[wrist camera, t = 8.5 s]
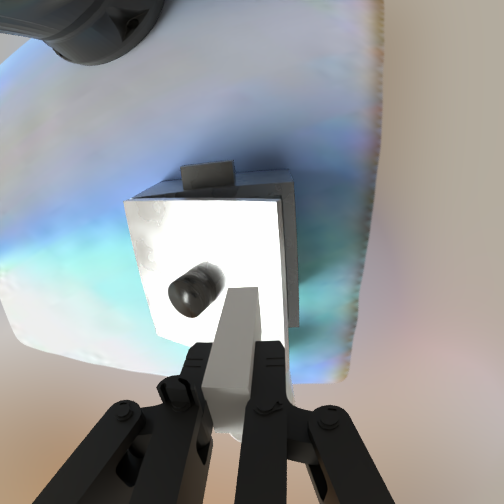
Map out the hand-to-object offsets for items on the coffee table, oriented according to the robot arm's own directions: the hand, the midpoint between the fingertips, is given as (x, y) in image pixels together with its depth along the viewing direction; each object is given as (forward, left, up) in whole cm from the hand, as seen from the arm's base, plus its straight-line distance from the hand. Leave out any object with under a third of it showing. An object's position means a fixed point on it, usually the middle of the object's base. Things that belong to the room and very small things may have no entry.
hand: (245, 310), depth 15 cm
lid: (+3, -4, -8) cm, 10 cm away
